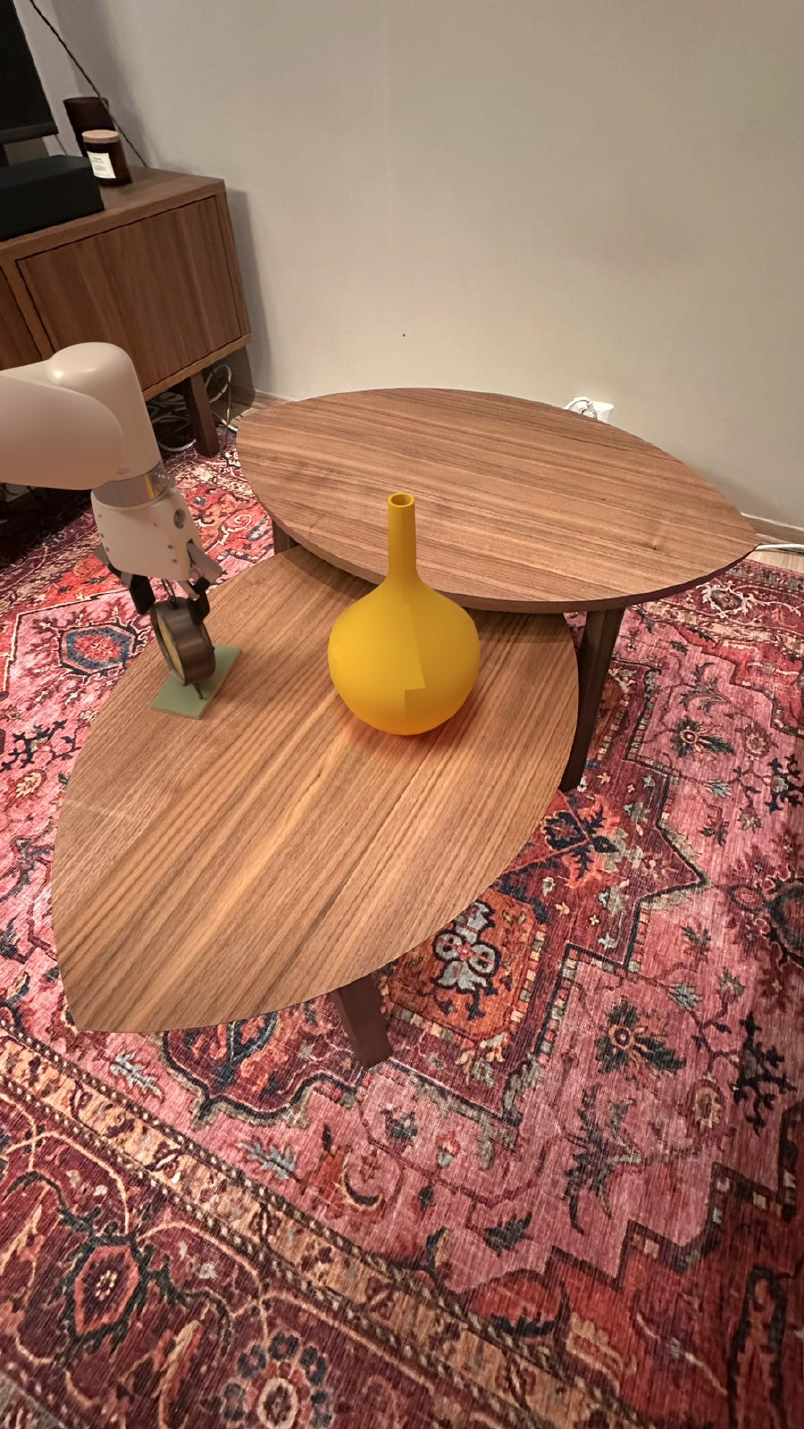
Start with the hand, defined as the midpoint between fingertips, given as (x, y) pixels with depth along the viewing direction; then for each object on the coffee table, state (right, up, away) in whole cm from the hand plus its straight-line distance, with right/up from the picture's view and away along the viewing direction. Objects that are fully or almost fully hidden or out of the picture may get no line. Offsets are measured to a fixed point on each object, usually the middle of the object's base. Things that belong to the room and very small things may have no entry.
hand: (174, 612), depth 83 cm
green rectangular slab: (0, -8, +9) cm, 12 cm away
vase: (+28, -11, +6) cm, 31 cm away
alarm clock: (0, -7, +8) cm, 11 cm away
